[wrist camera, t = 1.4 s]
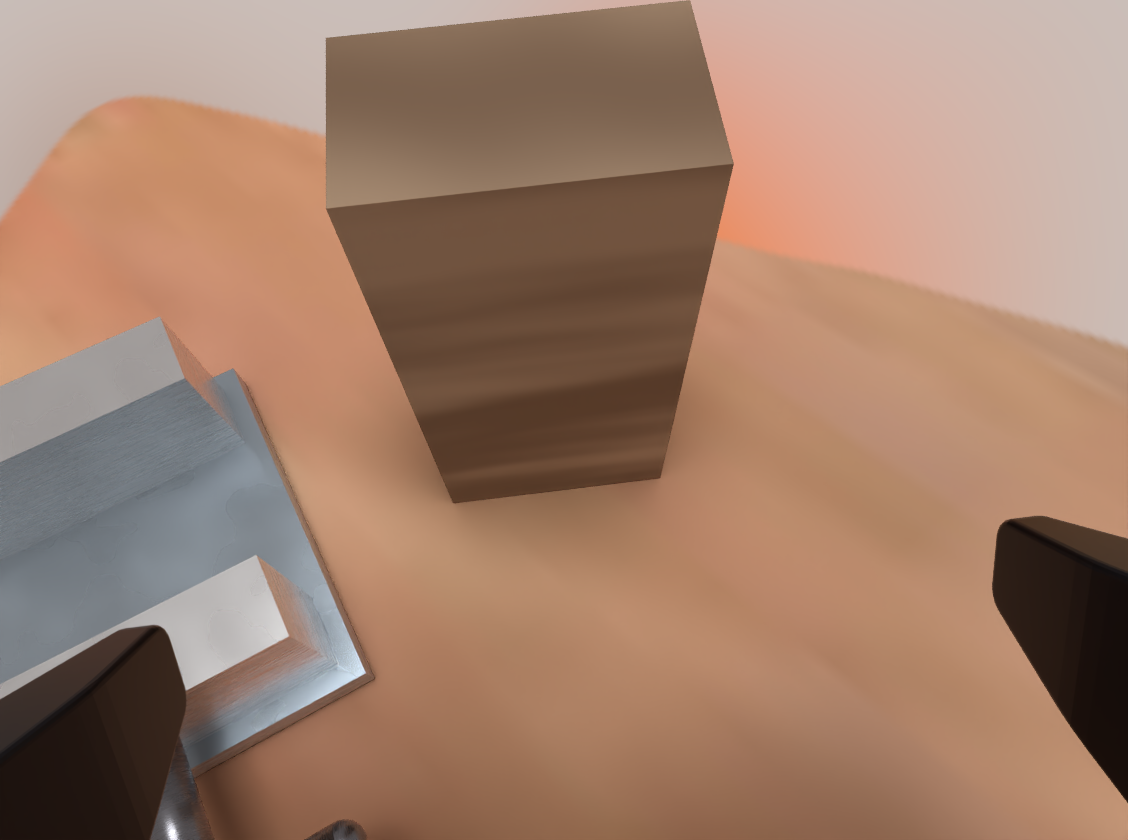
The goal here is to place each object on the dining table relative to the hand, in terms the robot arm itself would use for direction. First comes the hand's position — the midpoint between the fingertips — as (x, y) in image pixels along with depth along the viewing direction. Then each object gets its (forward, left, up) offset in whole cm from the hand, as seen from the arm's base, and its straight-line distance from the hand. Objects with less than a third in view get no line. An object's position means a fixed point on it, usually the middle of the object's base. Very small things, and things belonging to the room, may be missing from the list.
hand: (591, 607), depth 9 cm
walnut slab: (+6, +5, -14) cm, 16 cm away
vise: (-4, +10, -14) cm, 17 cm away
